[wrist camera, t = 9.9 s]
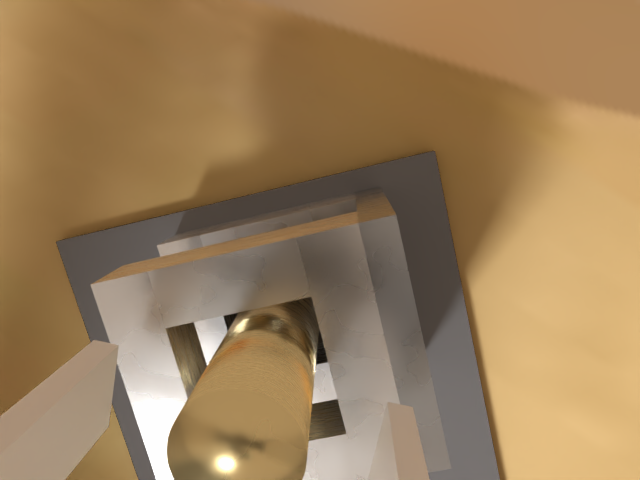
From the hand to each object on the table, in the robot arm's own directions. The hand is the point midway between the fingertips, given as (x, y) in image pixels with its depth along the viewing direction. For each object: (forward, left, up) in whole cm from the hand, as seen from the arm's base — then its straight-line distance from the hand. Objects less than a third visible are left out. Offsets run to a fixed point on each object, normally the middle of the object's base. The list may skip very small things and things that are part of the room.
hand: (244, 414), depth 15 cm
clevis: (0, 0, -11) cm, 11 cm away
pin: (0, 0, -10) cm, 10 cm away
